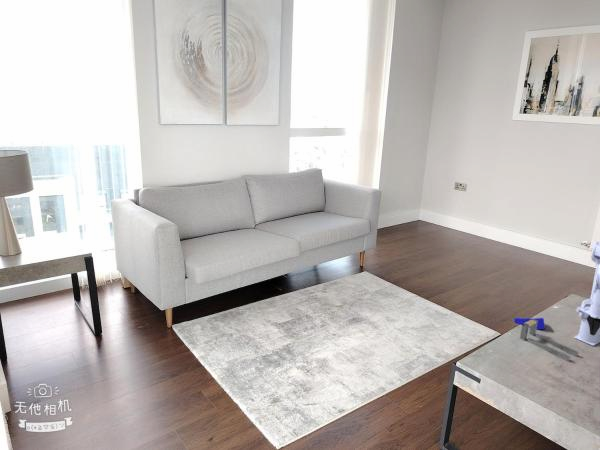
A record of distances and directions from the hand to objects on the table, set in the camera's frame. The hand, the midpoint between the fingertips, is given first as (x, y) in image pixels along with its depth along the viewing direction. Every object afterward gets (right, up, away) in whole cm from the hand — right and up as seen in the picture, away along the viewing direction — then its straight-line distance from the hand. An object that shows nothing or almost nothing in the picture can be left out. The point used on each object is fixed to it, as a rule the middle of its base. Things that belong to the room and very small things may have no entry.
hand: (592, 334), depth 172 cm
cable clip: (-14, -1, +22) cm, 26 cm away
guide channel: (-13, -8, +7) cm, 17 cm away
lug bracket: (-19, -6, +15) cm, 25 cm away
